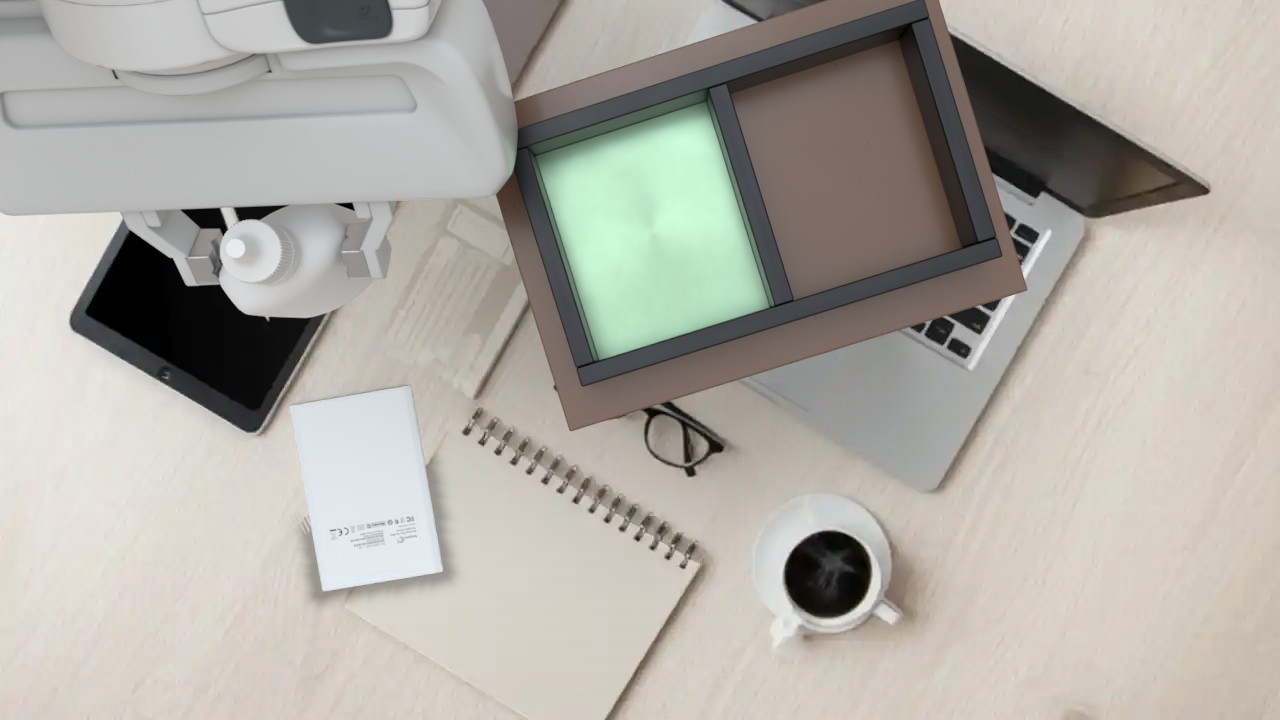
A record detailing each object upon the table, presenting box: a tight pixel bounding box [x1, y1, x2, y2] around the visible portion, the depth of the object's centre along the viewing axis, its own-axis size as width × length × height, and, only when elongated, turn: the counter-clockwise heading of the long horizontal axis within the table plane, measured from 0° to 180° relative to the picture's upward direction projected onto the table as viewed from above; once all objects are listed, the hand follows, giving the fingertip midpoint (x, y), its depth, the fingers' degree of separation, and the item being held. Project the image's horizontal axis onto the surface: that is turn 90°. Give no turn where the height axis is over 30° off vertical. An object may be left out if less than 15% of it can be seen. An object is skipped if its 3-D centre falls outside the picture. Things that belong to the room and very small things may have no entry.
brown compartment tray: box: [495, 0, 1028, 432], centre depth 45 cm, size 14×20×4 cm
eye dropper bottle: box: [219, 203, 393, 319], centre depth 46 cm, size 4×6×12 cm
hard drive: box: [288, 384, 444, 592], centre depth 72 cm, size 2×8×12 cm
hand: (292, 272), depth 45 cm, fingers closed on eye dropper bottle, 5 cm apart
